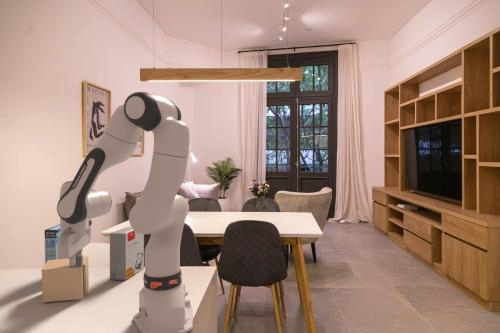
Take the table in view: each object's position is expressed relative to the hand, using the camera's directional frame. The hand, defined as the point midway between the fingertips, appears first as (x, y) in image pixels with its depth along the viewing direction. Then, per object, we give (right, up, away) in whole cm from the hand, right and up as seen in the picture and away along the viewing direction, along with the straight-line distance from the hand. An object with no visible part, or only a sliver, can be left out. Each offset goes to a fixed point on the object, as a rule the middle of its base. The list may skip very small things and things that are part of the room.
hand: (75, 263), depth 116 cm
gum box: (-19, -13, +25) cm, 34 cm away
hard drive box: (+9, -13, +27) cm, 31 cm away
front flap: (-4, -13, 0) cm, 14 cm away
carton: (-7, -14, +7) cm, 17 cm away
